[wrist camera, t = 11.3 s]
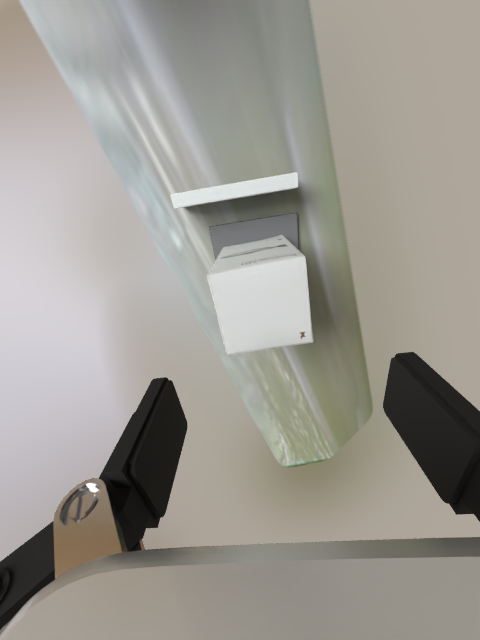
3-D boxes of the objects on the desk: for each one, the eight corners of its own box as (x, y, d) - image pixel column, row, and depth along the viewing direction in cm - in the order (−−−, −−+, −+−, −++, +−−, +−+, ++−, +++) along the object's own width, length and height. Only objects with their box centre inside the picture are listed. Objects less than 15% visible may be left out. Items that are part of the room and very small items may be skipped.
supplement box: (283, 232, 27) (311, 253, 16) (290, 292, 30) (316, 346, 19) (221, 245, 28) (204, 273, 16) (233, 302, 31) (226, 359, 20)
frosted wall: (180, 195, 26) (170, 194, 22) (290, 176, 25) (297, 172, 21) (183, 207, 26) (173, 208, 23) (290, 189, 25) (298, 187, 22)
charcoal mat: (209, 226, 27) (209, 226, 27) (296, 212, 26) (297, 212, 26) (227, 318, 32) (227, 319, 32) (300, 309, 32) (300, 310, 31)
